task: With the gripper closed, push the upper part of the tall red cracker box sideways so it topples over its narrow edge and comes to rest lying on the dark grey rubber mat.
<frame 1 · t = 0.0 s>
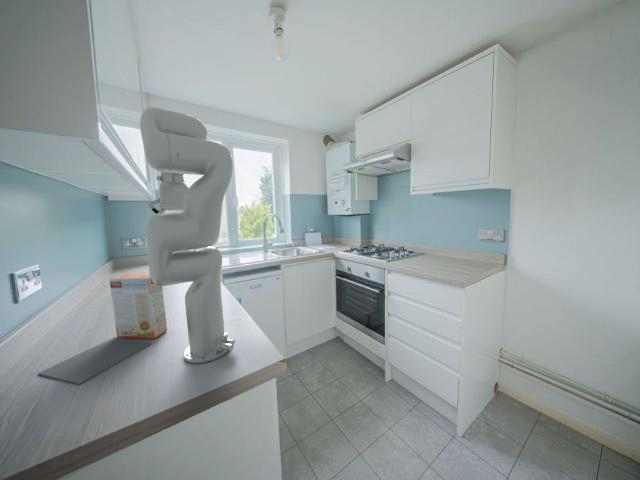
hand: (177, 225, 88), 37 cm above the worktop, tool pointing down, fingers open, 9 cm apart
cracker box: (143, 335, 78), on the worktop
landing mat: (100, 357, 66), on the worktop
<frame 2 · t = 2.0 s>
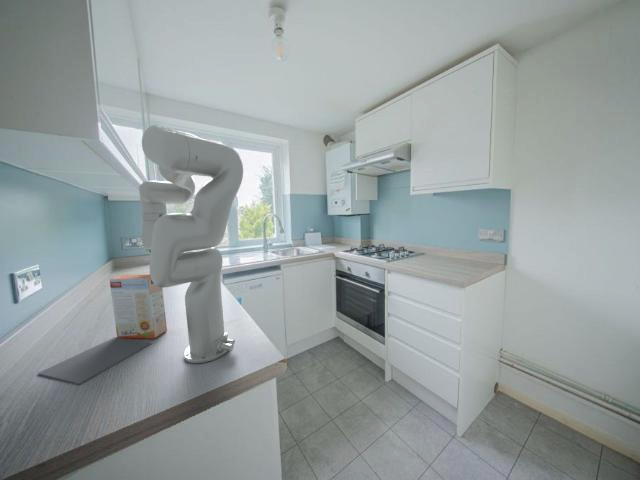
hand: (160, 266, 85), 22 cm above the worktop, tool pointing down, fingers closed
nothing on the worktop moved.
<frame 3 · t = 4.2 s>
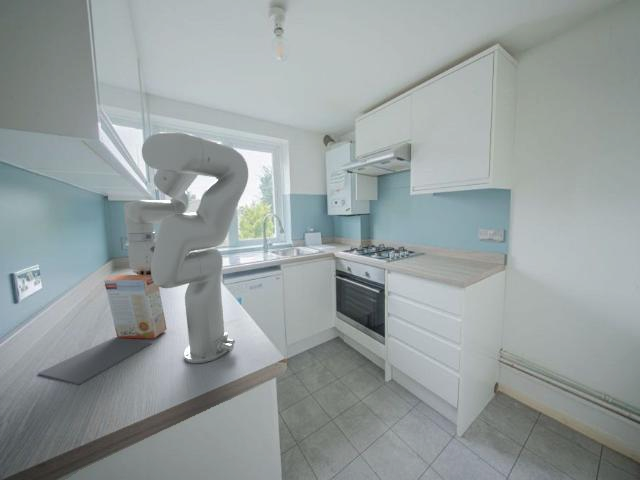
hand: (147, 289, 80), 15 cm above the worktop, tool pointing down, fingers closed
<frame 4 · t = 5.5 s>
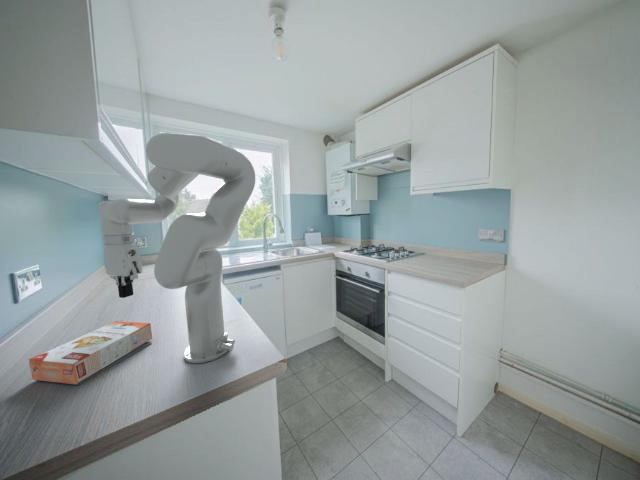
hand: (126, 296, 73), 15 cm above the worktop, tool pointing down, fingers closed
cracker box: (134, 328, 75), point 3 cm above the worktop, touching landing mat
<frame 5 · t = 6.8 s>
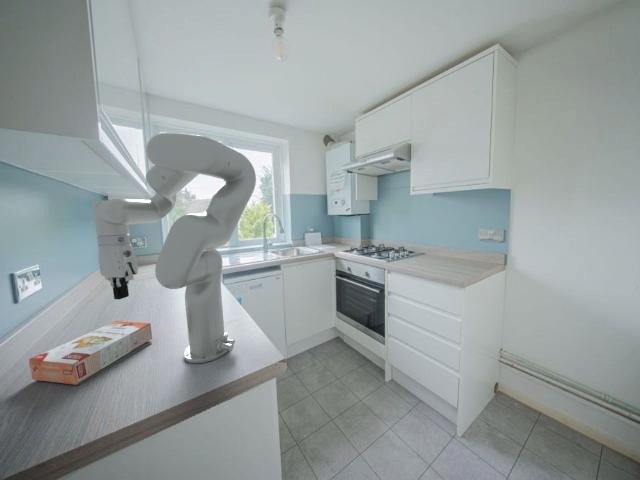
hand: (121, 297, 72), 15 cm above the worktop, tool pointing down, fingers closed
nothing on the worktop moved.
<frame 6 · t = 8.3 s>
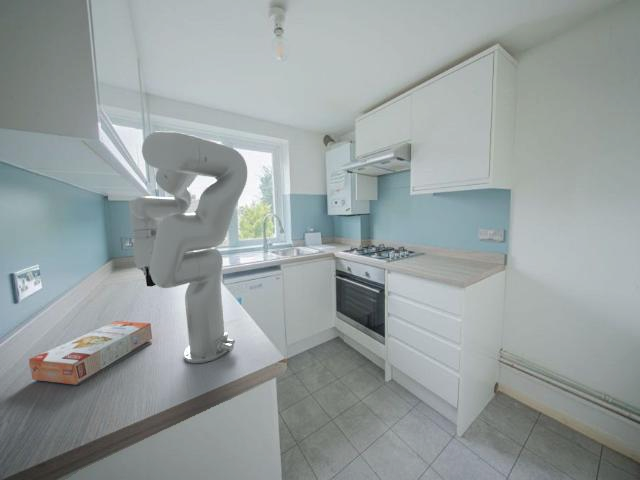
hand: (152, 285, 81), 16 cm above the worktop, tool pointing down, fingers closed
nothing on the worktop moved.
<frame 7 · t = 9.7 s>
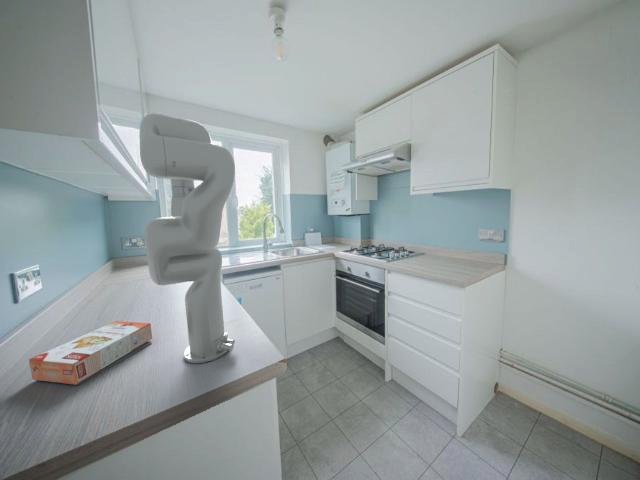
hand: (188, 240, 87), 31 cm above the worktop, tool pointing down, fingers closed
nothing on the worktop moved.
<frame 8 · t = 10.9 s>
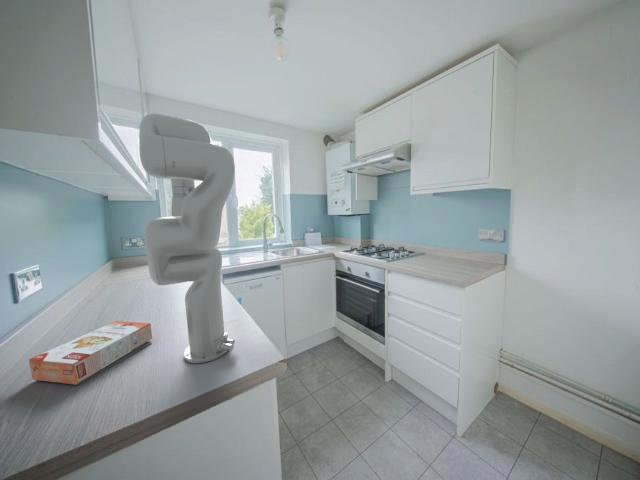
hand: (188, 240, 87), 31 cm above the worktop, tool pointing down, fingers closed
nothing on the worktop moved.
at the end: cracker box tilted 91°; cracker box inside the target area (8.8 cm from its centre), point 3.5 cm above the worktop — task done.
